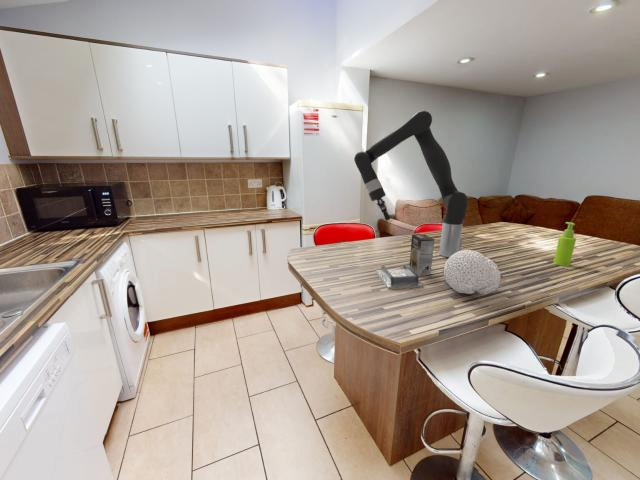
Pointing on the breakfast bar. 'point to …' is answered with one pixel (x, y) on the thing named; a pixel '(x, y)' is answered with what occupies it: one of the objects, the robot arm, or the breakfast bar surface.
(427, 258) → the coffee box
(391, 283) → the clip bracket
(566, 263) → the soap dispenser
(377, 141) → the robot arm
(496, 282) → the white coral
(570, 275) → the breakfast bar surface
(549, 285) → the breakfast bar surface
